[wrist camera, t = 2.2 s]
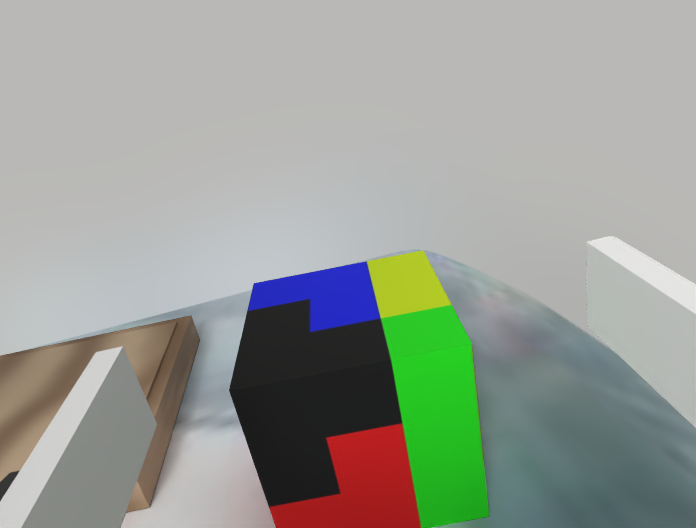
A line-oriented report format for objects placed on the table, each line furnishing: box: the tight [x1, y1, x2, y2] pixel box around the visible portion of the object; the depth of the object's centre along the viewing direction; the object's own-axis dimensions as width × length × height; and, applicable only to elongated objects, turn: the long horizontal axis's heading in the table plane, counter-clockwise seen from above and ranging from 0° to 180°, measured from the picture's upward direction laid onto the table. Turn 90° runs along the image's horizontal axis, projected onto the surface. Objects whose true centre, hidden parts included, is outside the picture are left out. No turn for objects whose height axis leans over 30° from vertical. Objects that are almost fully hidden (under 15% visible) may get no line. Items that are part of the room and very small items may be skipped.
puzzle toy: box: [229, 251, 489, 528], centre depth 28 cm, size 10×10×10 cm
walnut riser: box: [0, 316, 200, 513], centre depth 37 cm, size 18×18×3 cm
